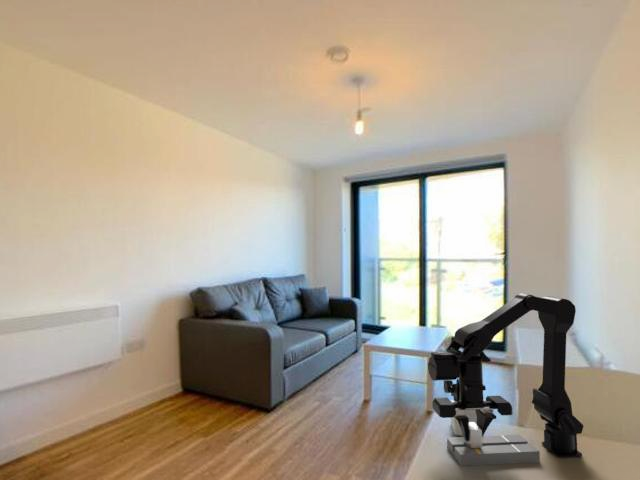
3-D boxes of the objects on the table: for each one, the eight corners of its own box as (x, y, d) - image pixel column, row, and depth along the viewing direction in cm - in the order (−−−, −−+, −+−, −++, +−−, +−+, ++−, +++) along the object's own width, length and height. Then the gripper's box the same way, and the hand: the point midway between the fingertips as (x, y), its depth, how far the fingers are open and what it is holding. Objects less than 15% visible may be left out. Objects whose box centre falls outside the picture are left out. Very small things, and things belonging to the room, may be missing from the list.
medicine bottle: (481, 437, 99) (480, 394, 99) (454, 435, 100) (453, 392, 101) (475, 425, 106) (474, 385, 106) (450, 423, 107) (449, 383, 108)
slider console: (519, 444, 95) (519, 434, 95) (539, 461, 87) (539, 450, 87) (447, 447, 94) (446, 437, 94) (460, 465, 86) (460, 454, 86)
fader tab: (474, 445, 93) (474, 422, 93) (482, 454, 89) (481, 429, 89) (463, 446, 92) (462, 422, 93) (470, 454, 88) (470, 430, 89)
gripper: (489, 367, 100) (491, 423, 99) (424, 369, 99) (425, 426, 98) (512, 381, 89) (515, 445, 88) (439, 384, 88) (441, 448, 87)
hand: (472, 440), depth 91 cm, fingers closed on fader tab, 3 cm apart
